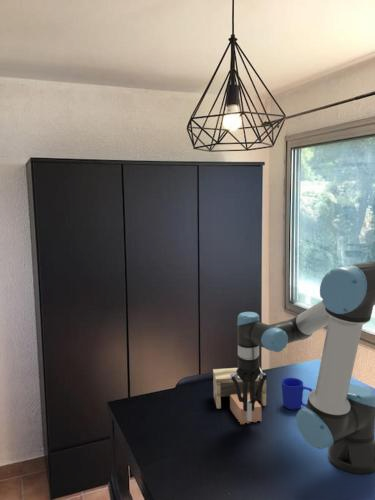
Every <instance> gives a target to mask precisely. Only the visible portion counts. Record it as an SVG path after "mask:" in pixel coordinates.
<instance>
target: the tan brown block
mask: <svg viewBox="0 0 375 500" xmlns="http://www.w3.org/2000/svg"><path fill="white" fill-rule="evenodd" d="M241 396H242V397H243V393H241ZM247 400H250V392H247ZM229 409H230V411H231V413H232V414H233V415H234V417H235V418H236V420H237V419H238V420H237V421H238V423H239V422H240V423H239V424H240V425H246V424H245V423H247V424H251V423H250V422H254V423H258V422H257V421H260V422H262V404H261V403H259V401H255V404H254V411H252V421H247V418H246V411H244V409H243V402H239V399H238V396H237V394H232V395H230V396H229Z"/></svg>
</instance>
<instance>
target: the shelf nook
mask: <svg viewBox="0 0 375 500" xmlns="http://www.w3.org/2000/svg"><path fill="white" fill-rule="evenodd" d="M237 369H238V367H230V368H228V367H227V368H213V369H212V375H213V376H212V377H213V379H212V380H213V382H212V383H213V399H214V403H215V406H216V409H222V399H221V398H225V397H228V398H230V395H232V394H237V393H236V389H235V385H234V382H233V381H232V379H231V374H233V375H234V374H235V373H237V372H236V371H237ZM259 369H260V371H261V372H262V373H264V371H263V370H262V369H261V366H259ZM259 378H260V377H259V376H258V377H257V379H256V380H255V393H256V389H257V385H258V381H259ZM237 382H238V385H239V389H240V393H243V381H242V380H241V378H240V377H239V376H238V380H237ZM247 392H250V382H248V385H247ZM260 401H261V402H260ZM259 402H260V405H261V407H266V406H267V379H266V380H265V381H264V384H263V388H262V392H261V396H260V400H259Z"/></svg>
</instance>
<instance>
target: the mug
mask: <svg viewBox="0 0 375 500" xmlns="http://www.w3.org/2000/svg"><path fill="white" fill-rule="evenodd" d="M280 382H281V395H282V405H283V406H284V407H285V408H286V409H287V410H288V409H289V410H298V409H301V407H303V408H305V407H306V406H307V403H306V404H305V403H304V402H303V397H304V396H303V394H304V390H307V391H309V393H310V392H311V391H312V390H313V388H311V387H307V386H304V382H303V381H302V380H301V379H299V378H295V377H285V378H283V379H281V381H280Z"/></svg>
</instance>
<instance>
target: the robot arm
mask: <svg viewBox="0 0 375 500" xmlns="http://www.w3.org/2000/svg"><path fill="white" fill-rule="evenodd" d="M319 297H320V298H322V300H321V301H319V302H317V303H316V304H314V305H313V306H311V307H309V308H308V309H306V310H304V311H303V312H301V313H299V314H298V315H296V316H294V317H292V318H290V319H287V320H283V321H279V322H276V323H271V324H267V323H263V322H262V321H260V315H259V314H258V313H257V312H254V311H244V312H240V313H239V314H238V315H237V324H236V326H237V329H236V330H237V368H238V369H237V371H236V372H237V373H235V374H234V375H233V374H231V379H232V381H233V382H234V385H235V389H236V393H237V396H238V399H239V402H243V409H244V411H246V418H247V421H252V411H254V404H255V401H257V402H260V396H261V392H262V388H263V384H264V381H265V380H266V381H267V377H268V375H267V374H266V372H263V371H262V372H263V373H262V372H261V371H260V369H259V367H260V347H262V348H264V349H265V350H268V351H271V352H276V353H280V352H282V351H283V350H284V349H285V348H287V345H288V344H291V343H294V342H297V341H298V342H299V341H303V340H305V339H308V338H310V337H311V336H313V334H314V333H317V332H318V331H320V330H322V329H324V328H326V332H325V338H324V339H325V340H324V344H323V348H322V355H321V359H320V364H319V369H318V375H317V380H316V386H315V389H312V391H311V392H310V391H309V394H308V395H307V396H308V397H307V402H306V404H307V406H306V407H302V408H300V409H299V410H298V411H297V413H296V416H295V417H296V418H295V420H296V426H297V429H298V431H299V433H300V435H301V437H302V438H303V439H304V441H305V442H306V443H308V445H310V446H311V447H313V448H315V449H318V450H324V449H326V448H328V449H327V456H328V459H329V461H330V462H331V463H332V464H333V465H334V466H335V467H336V468H338V469H340V470H342V471H344V472H347V473H352V474H355V475H356V474H357V475H368V474H371V473H375V393H374V392H372V390H370V389H368V388H366V387H363V386H361V385H357V384H351V381H352V380H351V379H352V375H353V370H354V366H355V363H356V362H355V361H356V359H357V358H356V357H357V353H358V348H359V343H360V339H361V335H362V330H363V325H365V324H368V323H369V322H370V321H371V318H372V315H373V309H374V306H375V261H365V262H362V263H361V262H360V263H355V264H345V265H340V266H338V267H335V268H333V269H331V270H329V271H328V272H327V273H326V274H325V275H324V276H323V278H322V279H321V282H320V285H319ZM238 376H239V377H240V378H241V380H242V381H243V397H242V396H241V393H240V389H239V385H238V382H237V380H238ZM258 376H259V377H260V378H259V381H258V385H257V389H256V393H255V380H256V379H257V377H258ZM248 382H250V400H247V385H248Z"/></svg>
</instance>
